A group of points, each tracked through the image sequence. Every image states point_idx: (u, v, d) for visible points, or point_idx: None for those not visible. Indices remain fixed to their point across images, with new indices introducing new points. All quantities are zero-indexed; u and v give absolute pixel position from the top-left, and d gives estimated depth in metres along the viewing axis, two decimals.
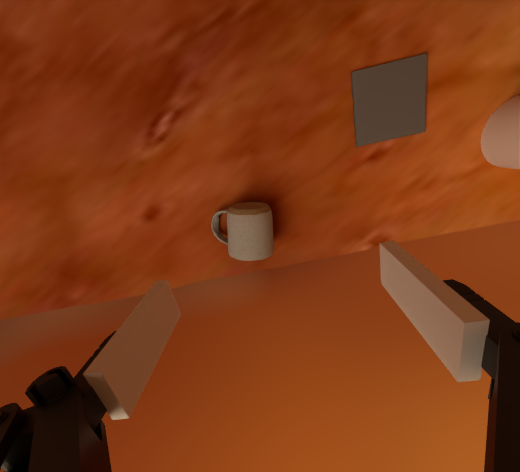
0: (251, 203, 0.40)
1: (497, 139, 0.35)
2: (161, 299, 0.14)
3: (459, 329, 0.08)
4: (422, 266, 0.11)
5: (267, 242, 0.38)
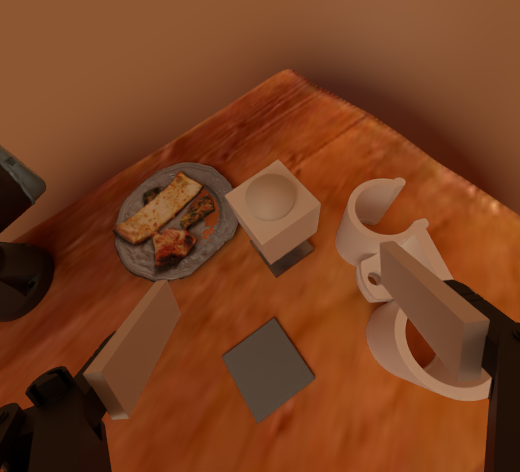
0: None
1: (382, 362, 0.32)
2: (161, 298, 0.14)
3: (459, 329, 0.08)
4: (422, 266, 0.11)
5: None
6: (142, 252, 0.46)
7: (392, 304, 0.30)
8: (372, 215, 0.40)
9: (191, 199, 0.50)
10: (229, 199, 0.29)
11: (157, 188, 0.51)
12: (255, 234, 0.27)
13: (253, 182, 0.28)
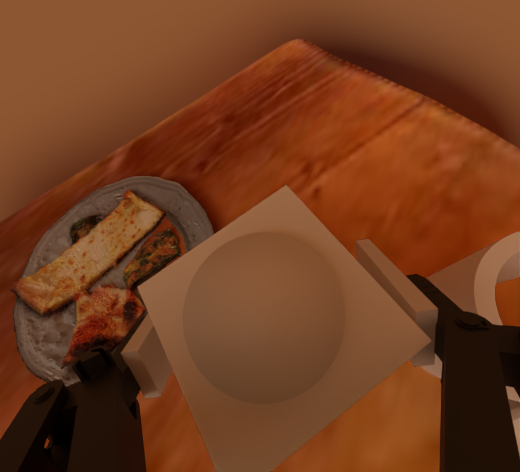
0: None
1: None
2: None
3: (412, 317, 0.09)
4: (390, 262, 0.12)
5: None
6: (56, 328, 0.28)
7: None
8: None
9: (145, 235, 0.31)
10: (148, 300, 0.10)
11: (94, 217, 0.32)
12: (211, 447, 0.08)
13: (212, 258, 0.09)
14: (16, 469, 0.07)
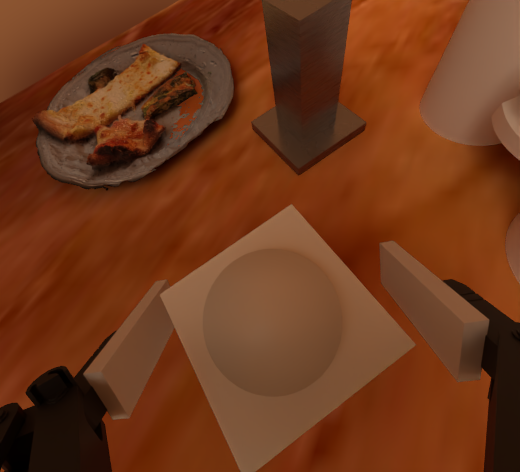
0: None
1: None
2: (161, 299, 0.14)
3: (459, 329, 0.08)
4: (422, 266, 0.11)
5: None
6: (78, 153, 0.29)
7: None
8: None
9: (161, 82, 0.32)
10: (170, 306, 0.12)
11: (111, 70, 0.33)
12: (227, 433, 0.09)
13: (227, 271, 0.11)
14: None
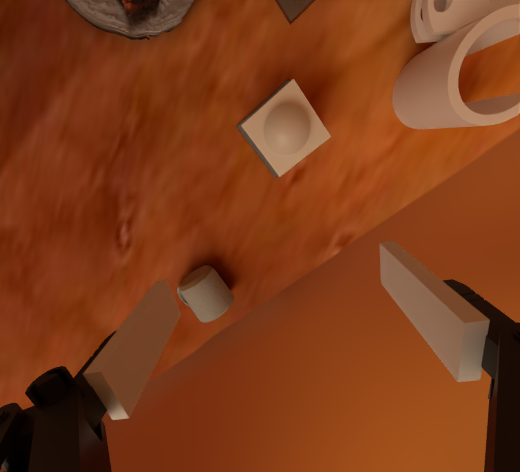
0: (198, 270, 0.46)
1: (405, 112, 0.34)
2: (161, 299, 0.14)
3: (459, 329, 0.08)
4: (422, 266, 0.11)
5: (219, 299, 0.43)
6: None
7: (448, 39, 0.27)
8: None
9: None
10: (246, 130, 0.31)
11: None
12: (273, 167, 0.32)
13: (270, 115, 0.29)
14: None
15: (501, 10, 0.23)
